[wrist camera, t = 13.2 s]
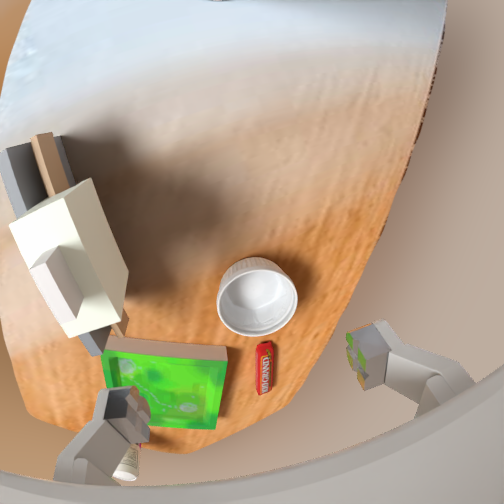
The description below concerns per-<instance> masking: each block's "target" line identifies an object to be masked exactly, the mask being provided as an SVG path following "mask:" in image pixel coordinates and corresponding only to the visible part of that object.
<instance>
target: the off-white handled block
mask: <svg viewBox="0 0 504 504" xmlns="http://www.w3.org/2000/svg"><path fill="white" fill-rule="evenodd" d="M9 227H10V229H11V231H12V234H13V236H14V238H15V241H16V243H17V245H18V247H19V250H20V252H21V254H22V256H23V258H24V260H25V262H26V264H27V266H28V268H29V271H30V273H31V275H32V277H33V279H34V281H35V283H36V285H37V287H38V289H39V290H40V292H41V294H42V296H43V298H44V299H45V301H46V303H47V304H48V306H49V308H50V310H51V311H52V313H53V315H54V316H55V318H56V319H57V321H58V323H59V324H60V325H61V326H62V328H63V330H64V331H65V333H66V334H67V336H68V337H69V338H71V337H74V336H77V335H80V334H83V333H86V332H90V331H93V330H96V329H99V328H102V327H105V326H108V325H111V324H114V323H117V322H120V321H121V319H122V311H123V305H124V298H125V292H126V286H127V280H128V274H129V271H128V269H127V267H126V264H125V262H124V260H123V258H122V255H121V253H120V251H119V248H118V246H117V244H116V241H115V239H114V236H113V234H112V232H111V229H110V227H109V224H108V222H107V219H106V217H105V214H104V211H103V209H102V206H101V204H100V201H99V198H98V195H97V193H96V190H95V187H94V184H93V181H92V179H91V178H89V179H86V180H84V181H82V182H80V183H79V184H77V185H76V186H74V187H71V188H69V189H67V190H65V191H63V192H61V193H58V194H56V195H54V196H52V197H50V198H49V197H47V198H45V199H44V200H43V201H41V202H40V203H38V204H37V205H35V206H34V207H32V208H31V209H30V210H28V211H27V212H25V213H24V214H23V215H21V216H20V217H19V218H17V219H16V220H15V221H13V222H12V223H11V224H9Z"/></svg>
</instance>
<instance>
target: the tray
mask: <svg viewBox="0 0 504 504" xmlns="http://www.w3.org/2000/svg"><path fill="white" fill-rule="evenodd" d="M101 361H102V366H103V372H104V377H105V382H106V386H107V388H114V387H123V386H132V385H134V386H136V387H137V388H138V390H139V395H140V396H142V397H144V398H145V399H146V400H147V402H148V404H149V406H150V411H151V419H150V421H149V422H148V423H147V425H150V426H160V427H172V428H186V429H211V430H215V428H216V423H217V417H218V412H219V407H220V401H221V396H222V390H223V385H224V380H225V374H226V369H227V364H228V358H227V351H226V346H215V345H200V344H186V343H175V342H164V341H154V340H145V339H136V338H128V337H122V338H118V337H117V336H113V335H109V337H108V340H107V343H106V346H105V349H104V353H103V354H102V355H101Z"/></svg>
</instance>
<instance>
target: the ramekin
mask: <svg viewBox="0 0 504 504" xmlns="http://www.w3.org/2000/svg"><path fill="white" fill-rule="evenodd" d="M297 302H298V296H297V291H296V288H295V285H294V283H293V282H292V280H291V279H290V277H289V276H288V275H287V274H285V273H284V272H283V271H282V269H281V268H280V267H279V266H278V265H277V264H275V263H274V262H272V261H270V260H268V259H265V258H261V257H251V258H246V259H243V260H240V261H238V262H236V263H235V264H233V265H232V266H231V267H229V268H228V270H227V271H226V272H225V274H224V275H223V278H222V279H221V283H220V288H219V292H218V295H217V310H218V314H219V317H220V319H221V321H222V322H223V323H224V324H225V326H226V327H228V328H229V329H230V330H231V331H233V332H235V333H238V334H240V335H244V336H263V335H267V334H270V333H273V332H275V331H277V330H279V329H280V328H282V327H283V326H284V325H285V324H287V322H288V321H289V320H290V319H291V318H292V316H293V314H294V312H295V310H296V307H297Z"/></svg>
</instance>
